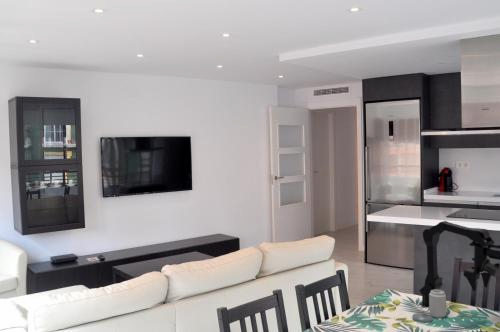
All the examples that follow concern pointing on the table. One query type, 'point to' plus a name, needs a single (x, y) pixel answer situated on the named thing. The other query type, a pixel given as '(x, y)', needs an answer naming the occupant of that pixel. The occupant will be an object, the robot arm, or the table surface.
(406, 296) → the table surface
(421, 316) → the coaster
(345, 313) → the table surface
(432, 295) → the can
